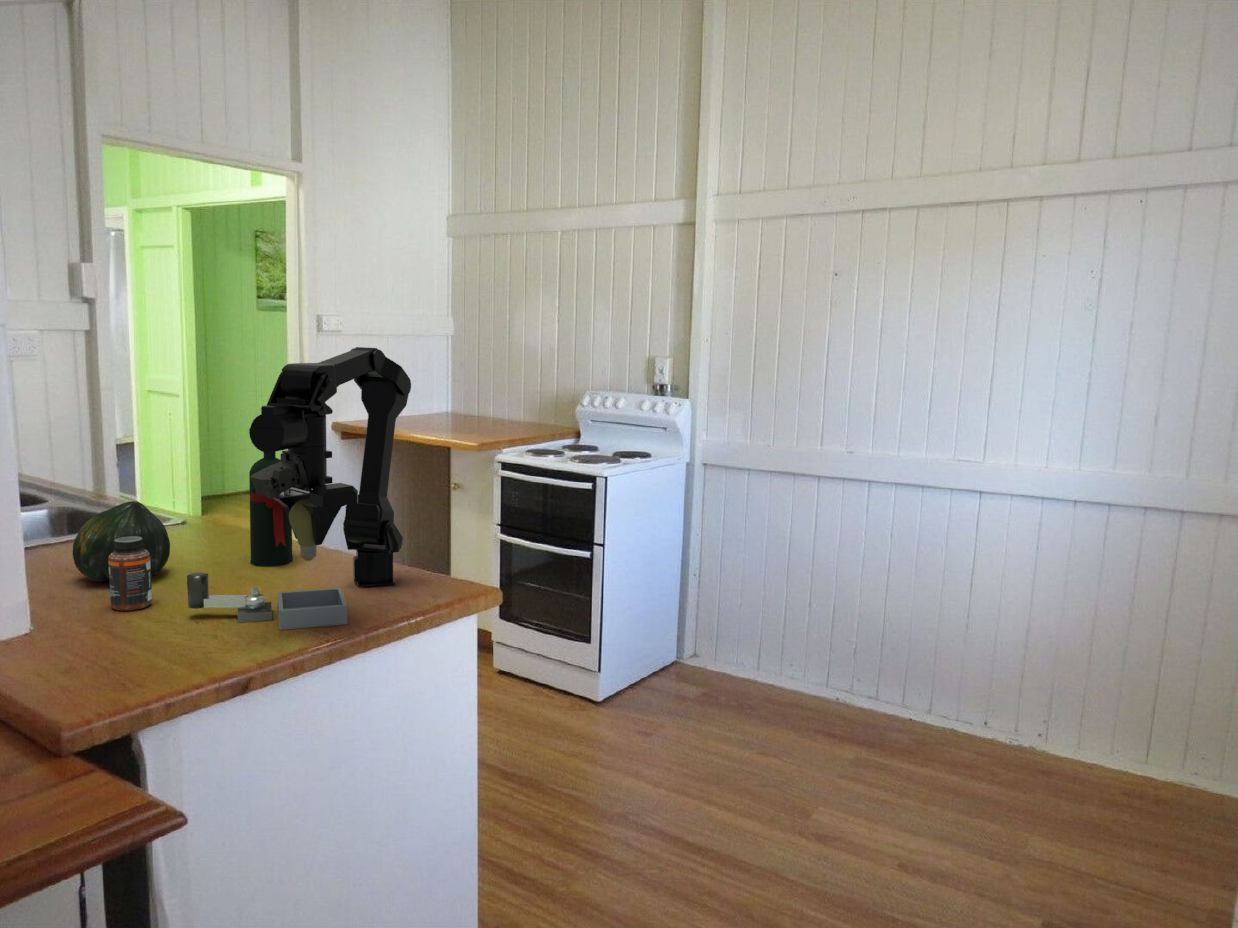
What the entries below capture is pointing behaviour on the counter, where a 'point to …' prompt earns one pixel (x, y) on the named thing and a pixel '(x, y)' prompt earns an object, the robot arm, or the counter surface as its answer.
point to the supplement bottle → (130, 575)
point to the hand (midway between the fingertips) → (308, 541)
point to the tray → (311, 608)
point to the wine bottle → (268, 524)
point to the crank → (202, 599)
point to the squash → (117, 523)
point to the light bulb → (303, 529)
